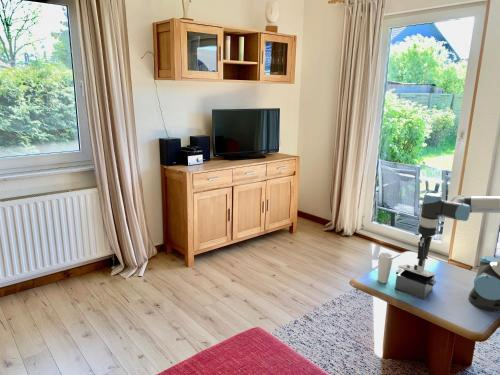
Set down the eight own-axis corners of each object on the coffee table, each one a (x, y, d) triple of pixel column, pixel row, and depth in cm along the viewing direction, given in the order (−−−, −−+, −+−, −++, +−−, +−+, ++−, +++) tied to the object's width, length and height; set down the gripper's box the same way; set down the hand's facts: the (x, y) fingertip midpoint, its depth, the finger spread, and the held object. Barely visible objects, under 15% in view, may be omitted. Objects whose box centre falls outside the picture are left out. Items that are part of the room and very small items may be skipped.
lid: (434, 274, 186) (436, 269, 186) (427, 276, 175) (428, 271, 175) (406, 265, 195) (408, 260, 195) (398, 267, 184) (399, 261, 184)
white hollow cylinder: (390, 285, 191) (394, 258, 187) (376, 283, 192) (380, 257, 188) (388, 278, 197) (391, 253, 194) (375, 277, 199) (378, 251, 195)
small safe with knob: (436, 290, 186) (439, 276, 184) (427, 301, 176) (430, 286, 174) (401, 278, 198) (403, 265, 196) (390, 287, 188) (392, 273, 186)
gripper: (424, 220, 181) (416, 264, 186) (414, 226, 171) (407, 272, 177) (440, 224, 176) (432, 269, 182) (431, 231, 166) (423, 278, 172)
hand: (420, 271), depth 179 cm, fingers closed
